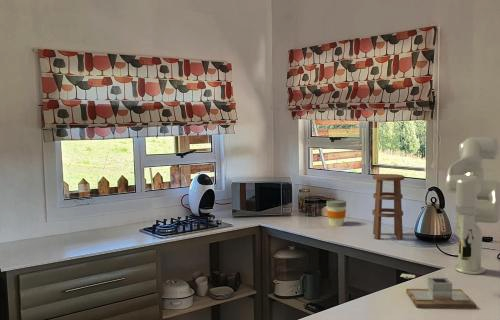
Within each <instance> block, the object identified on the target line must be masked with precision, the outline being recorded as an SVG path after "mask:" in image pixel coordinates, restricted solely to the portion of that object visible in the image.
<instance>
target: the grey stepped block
mask: <svg viewBox="0 0 500 320" xmlns="http://www.w3.org/2000/svg"><path fill="white" fill-rule="evenodd" d="M427 289H428V292H427V291H423V290H411V292H412V294H413V295H414V297H415V298H416V300H417V301H434V299H445V300H453V301H470V300H469V299H468V298H467V297H466V296H465V295H464V294H463V293H462V292H461V291H452V289H453V282H451V281H450V279H448V278H447V277H427Z"/></svg>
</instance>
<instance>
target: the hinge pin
mask: <svg viewBox="0 0 500 320" xmlns="http://www.w3.org/2000/svg"><path fill="white" fill-rule="evenodd" d="M466 239H468V238H466ZM466 242H468V241H466ZM463 247H464V245H463V240H461V260H469V257H463V256H462V250H463Z"/></svg>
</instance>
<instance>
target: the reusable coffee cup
mask: <svg viewBox="0 0 500 320" xmlns="http://www.w3.org/2000/svg"><path fill="white" fill-rule="evenodd" d="M325 203H326V205H325V206H326V216H327V218H328V219H327V220H328V225H329V226H333V227H341V226H344V221H345V218H346V212H347V210H346V207H347V201H346V200H345V199H344V200H343V199H329V200H326V202H325Z"/></svg>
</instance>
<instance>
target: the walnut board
mask: <svg viewBox="0 0 500 320" xmlns="http://www.w3.org/2000/svg"><path fill="white" fill-rule="evenodd" d="M405 289H406V294H407V296H408V297H409V298H410V300H411V301H412V303H413V305H414V307H416V308H424V309H425V308H427V309H428V308H429V309H432V308H434V309H435V308H436V309H437V308H438V309H476V305H477V304H476V303H475V302H474V301H473V300H472V299H471V298H470V296H469V295H468V294H466V293H465V291H464V290H462V289H460V288H458V289H457V288H456V289H455V288H452V291H461V292H462V293H463V294H464V295H465V296H466V297H467V298H468V299H469V300H470V301H453V300H445V299H434V301H417V300H416V298H415V297H414V295H413V294H412V292H411V290H423V291H427V292H428V288H405Z"/></svg>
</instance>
